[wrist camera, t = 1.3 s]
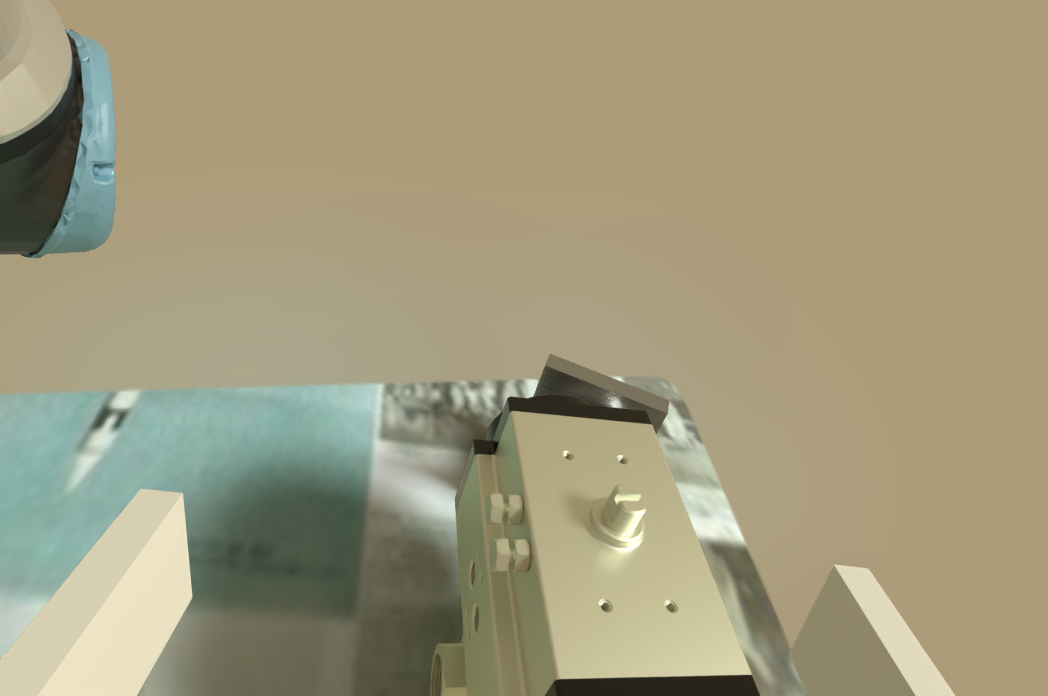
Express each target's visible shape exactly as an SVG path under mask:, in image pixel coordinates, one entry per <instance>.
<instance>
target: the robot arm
mask: <svg viewBox="0 0 1048 696" xmlns="http://www.w3.org/2000/svg"><path fill="white" fill-rule="evenodd" d="M115 140H116V138H115V114H114V99H113V87H112V79H111V70H110V65H109V60H108V56H107V54H106V52H105V49H104V48H103V47H102V46H101V45H100V44H99V43H98V42H96V41H95V40H93V39H91V38H88V37H84V36H80V35H79V34H78V33H76V32H74V31H72V30H70V31H69V30H66V29H65V28H64V26H63V24H62V21H61V19H60V17H59V14H58V13H57V11H56V10H55V8H54V7H53V6H52V4H51V3H50V1H49V0H0V254H21V255H22V256H24V257H29V258H39V257H42V256H44V255H46V254H53V253H69V252H86V251H90V250H93V249H96V248H97V247H99V246H101V245H102V244H103V243H104V242H105V241H106V240H107V238H108V237H109V235H110V233H111V230H112V227H113V221H114V211H115V189H116V186H115V185H116V181H115V172H114V169H113V168H114V165H115V149H116V141H115ZM191 599H192V587H191V576H190V565H189V554H188V544H187V533H186V522H185V511H184V500H183V493H176V492H167V491H158V490H149V489H140V490H139V491H138V493H137V494H136V495H135V496H134V498H133V499H132V500H131V501H130V502H129V504H128V505H127V506H126V507H125V508H124V510H123V511H122V512H121V513H120V515H119V516H118V517H117V518H116V519H115V521H114V522H113V523H112V524H111V526H110V527H109V528H108V529H107V530H106V532H105V533H104V534H103V535H102V537H101V538H100V539H99V540H98V541H97V543H96V544H95V545H94V546H93V548H92V549H91V550H90V551H89V552H88V554H87V555H86V556H85V557H84V559H83V560H82V561H81V562H80V563H79V565H78V566H77V567H76V568H75V570H74V571H73V572H72V573H71V574H70V576H69V577H68V578H67V579H66V581H65V582H64V583H63V584H62V585H61V587H60V588H59V589H58V590H57V592H56V593H55V594H54V595H53V596H52V598H51V599H50V600H49V601H48V603H47V604H46V605H45V606H44V607H43V609H42V610H41V611H40V612H39V614H38V615H37V616H36V617H35V618H34V620H33V621H32V622H31V623H30V625H29V626H28V627H27V628H26V629H25V631H24V632H23V633H22V634H21V636H20V637H19V638H18V639H17V640H16V642H15V643H14V644H13V645H12V646H11V648H10V649H9V650H8V651H7V653H6V654H5V655H4V656H3V657H2V659H1V660H0V696H137V695H138V693H139V691H140V689H141V687H142V686H143V684H144V682H145V680H146V679H147V677H148V675H149V673H150V672H151V670H152V668H153V666H154V664H155V663H156V661H157V659H158V657H159V656H160V654H161V652H162V650H163V649H164V647H165V645H166V643H167V642H168V640H169V638H170V636H171V634H172V633H173V631H174V629H175V627H176V626H177V624H178V622H179V620H180V619H181V617H182V615H183V613H184V611H185V610H186V608H187V606H188V604H189V603H190V601H191ZM789 656H790V658H791V660H792V662H793V665H794V667H795V669H796V671H797V673H798V676H799V678H800V680H801V682H802V684H803V686H804V689H805V691H806V693H807V695H808V696H955V695H954V693H953V692H952V690H951V689H950V687H949V686H948V685H947V683H946V682H945V680H944V679H943V677H942V676H941V674H940V673H939V671H938V670H937V668H936V667H935V665H934V664H933V663H932V661H931V660H930V658H929V657H928V655H927V654H926V653H925V651H924V649H923V648H922V646H921V645H920V643H919V642H918V640H917V639H916V638H915V636H914V635H913V633H912V632H911V630H910V629H909V628H908V626H907V625H906V623H905V621H904V620H903V619H902V617H901V616H900V614H899V613H898V611H897V610H896V608H895V607H894V605H893V604H892V602H891V601H890V599H889V598H888V597H887V595H886V594H885V592H884V591H883V590H882V588H881V586H880V585H879V583H878V582H877V580H876V579H875V578H874V576H873V575H872V573H871V572H870V570H869V569H868V568H860V567H851V566H841V565H834V566H833V568H832V570H831V572H830V574H829V575H828V577H827V579H826V581H825V583H824V585H823V587H822V589H821V591H820V593H819V595H818V597H817V599H816V601H815V603H814V605H813V607H812V609H811V611H810V613H809V615H808V617H807V619H806V621H805V623H804V625H803V627H802V629H801V631H800V633H799V635H798V637H797V639H796V640H795V643H794V644H793V646H792V648H791V650H790V652H789Z"/></svg>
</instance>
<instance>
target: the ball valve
mask: <svg viewBox="0 0 1048 696" xmlns="http://www.w3.org/2000/svg"><path fill="white" fill-rule="evenodd" d="M455 509H456V525H457V541H458V557H459V573H460V589H461V605H462V621H463V636H462V638H461V641H460V643H439V644H437V646H436V648H435V651H434V655H433V660H432V668H431V680H430V696H760V693H759V691H758V688H757V686H756V683H755V681H754V678H753V676H752V673H751V671H750V668H749V666H748V663H747V661H746V658H745V656H744V653H743V651H742V648H741V646H740V643H739V641H738V638H737V636H736V633H735V631H734V628H733V626H732V623H731V621H730V618H729V616H728V613H727V611H726V608H725V606H724V603H723V601H722V598H721V596H720V593H719V591H718V588H717V586H716V583H715V581H714V578H713V576H712V573H711V571H710V568H709V566H708V563H707V561H706V558H705V556H704V553H703V551H702V548H701V546H700V543H699V541H698V538H697V536H696V533H695V531H694V528H693V526H692V523H691V521H690V518H689V516H688V513H687V511H686V508H685V506H684V503H683V501H682V498H681V496H680V493H679V491H678V488H677V486H676V483H675V481H674V478H673V476H672V473H671V471H670V468H669V466H668V463H667V461H666V458H665V456H664V453H663V451H662V448H661V446H660V443H659V441H658V438H657V436H656V433H655V431H654V428H653V426H652V423H651V421H650V418H649V416H648V413H647V411H642V410H632V409H623V408H613V407H603V406H594V405H591V404H589V403H588V402H586V401H584V400H582V399H579V398H576V397H573V396H569V395H561V394H548V395H539V396H535V397H531V398H518V397H509V398H508V399H507V401H506V404H505V407H504V410H503V412H501V413H500V414H499V415H498V416H497V417H496V418H495V419H494V420H493V422H492V423H491V425H490V426H489V428H488V430H487V432H486V436H485V440H474V441H473V444H472V447H471V450H470V453H469V456H468V459H467V462H466V465H465V469H464V472H463V475H462V478H461V481H460V484H459V487H458V490H457V493H456V497H455Z"/></svg>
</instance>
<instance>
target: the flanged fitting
mask: <svg viewBox="0 0 1048 696" xmlns="http://www.w3.org/2000/svg"><path fill="white" fill-rule="evenodd" d="M548 394H561V395H569V396H573V397H576V398H579V399H582V400H584V401H586V402H588V403H589V404H591V405H594V406H603V407H613V408H623V409H632V410H642V411H647V413H648V416H649V418H650V421H651V423H652V426H653V428H654V431H655V433H657V431H658V430H659V428H660V426H661V424H662V423H663V421H664V419H665V417H666V416H667V414H668V406H669V400H667V399H664V398H662V397H659V396H656V395H654V394H651V393H649V392H646V391H644V390H641V389H639V388H636V387H633V386H631V385H628V384H626V383H623V382H621V381H618V380H616V379H613V378H611V377H608V376H605V375H603V374H600V373H598V372H595V371H592V370H590V369H588V368H585V367H582V366H580V365H577V364H575V363H572V362H569V361H567V360H565V359H562V358H559V357H557V356H554V355H552V354H550V355H549V358H548V360H547V363H546V365H545V368H544V370H543V373H542V375H541V378H540V381H539V383H538V386H537V388H536V391H535V394H534V396H533V397H535V396H539V395H548Z"/></svg>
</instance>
